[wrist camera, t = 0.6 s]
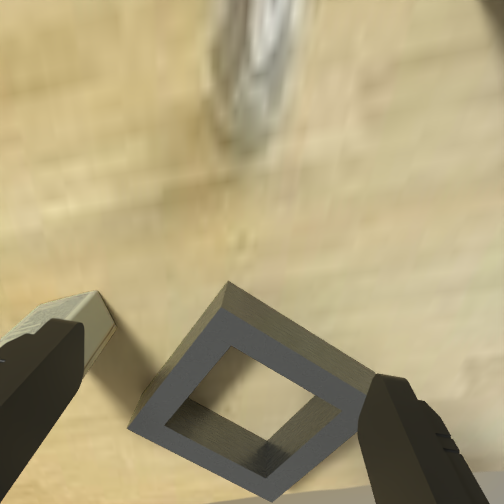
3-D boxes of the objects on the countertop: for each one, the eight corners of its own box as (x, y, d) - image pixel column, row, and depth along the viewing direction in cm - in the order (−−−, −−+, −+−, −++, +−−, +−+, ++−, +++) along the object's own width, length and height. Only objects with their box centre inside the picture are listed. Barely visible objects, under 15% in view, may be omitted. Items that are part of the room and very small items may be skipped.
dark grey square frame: (228, 280, 31) (221, 306, 27) (374, 372, 33) (386, 407, 30) (141, 394, 36) (126, 428, 33) (272, 464, 39) (271, 502, 36)
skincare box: (61, 341, 34) (-42, 461, 23) (37, 302, 33) (-87, 411, 22) (120, 327, 33) (41, 446, 22) (98, 286, 32) (1, 392, 21)
